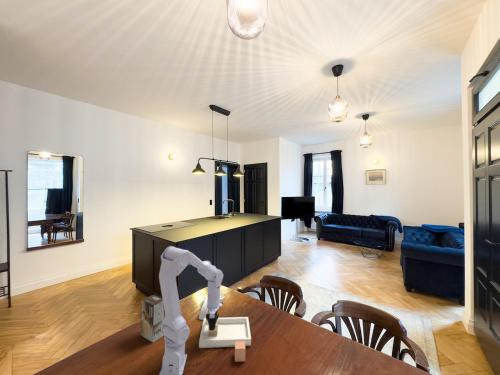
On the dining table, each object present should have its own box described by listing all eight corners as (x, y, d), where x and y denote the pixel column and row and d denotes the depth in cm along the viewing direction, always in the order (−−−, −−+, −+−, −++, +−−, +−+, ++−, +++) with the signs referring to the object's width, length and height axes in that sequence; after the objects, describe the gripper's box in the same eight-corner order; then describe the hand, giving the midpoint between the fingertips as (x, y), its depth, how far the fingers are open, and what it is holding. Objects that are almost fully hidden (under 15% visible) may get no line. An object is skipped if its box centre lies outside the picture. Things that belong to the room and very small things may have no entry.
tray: (250, 346, 92) (251, 338, 92) (198, 347, 90) (199, 340, 90) (247, 322, 108) (248, 317, 108) (203, 324, 106) (204, 318, 106)
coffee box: (165, 334, 98) (166, 299, 98) (152, 343, 92) (154, 305, 92) (152, 327, 102) (153, 294, 103) (139, 335, 97) (141, 299, 97)
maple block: (217, 336, 97) (217, 325, 97) (208, 336, 96) (208, 325, 96) (217, 330, 101) (217, 319, 101) (209, 330, 100) (209, 320, 100)
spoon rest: (208, 297, 133) (208, 285, 134) (226, 299, 132) (226, 287, 132) (192, 319, 110) (193, 305, 110) (214, 322, 108) (215, 308, 108)
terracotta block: (245, 361, 84) (245, 348, 84) (234, 361, 84) (235, 348, 84) (244, 353, 88) (244, 341, 88) (234, 353, 88) (235, 341, 88)
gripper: (221, 303, 92) (220, 334, 92) (223, 287, 106) (222, 315, 106) (205, 303, 91) (204, 335, 91) (208, 287, 106) (207, 315, 106)
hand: (212, 324), depth 99 cm, fingers open, 7 cm apart
